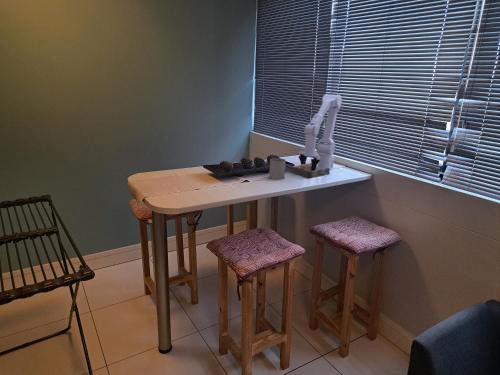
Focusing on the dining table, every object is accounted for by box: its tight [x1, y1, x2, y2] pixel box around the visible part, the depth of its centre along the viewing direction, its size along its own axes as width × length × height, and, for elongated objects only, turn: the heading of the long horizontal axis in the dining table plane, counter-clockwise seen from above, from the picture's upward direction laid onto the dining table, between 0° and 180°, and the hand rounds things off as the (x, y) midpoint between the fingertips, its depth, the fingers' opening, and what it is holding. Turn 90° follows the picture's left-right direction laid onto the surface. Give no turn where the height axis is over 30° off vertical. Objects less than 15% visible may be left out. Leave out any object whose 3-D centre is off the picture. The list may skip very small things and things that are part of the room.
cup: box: [268, 157, 286, 181], centre depth 188 cm, size 8×8×10 cm
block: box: [299, 162, 317, 171], centre depth 197 cm, size 4×9×5 cm, turn 129°
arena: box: [285, 163, 331, 179], centre depth 201 cm, size 17×23×4 cm
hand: (308, 169), depth 197 cm, fingers open, 7 cm apart
